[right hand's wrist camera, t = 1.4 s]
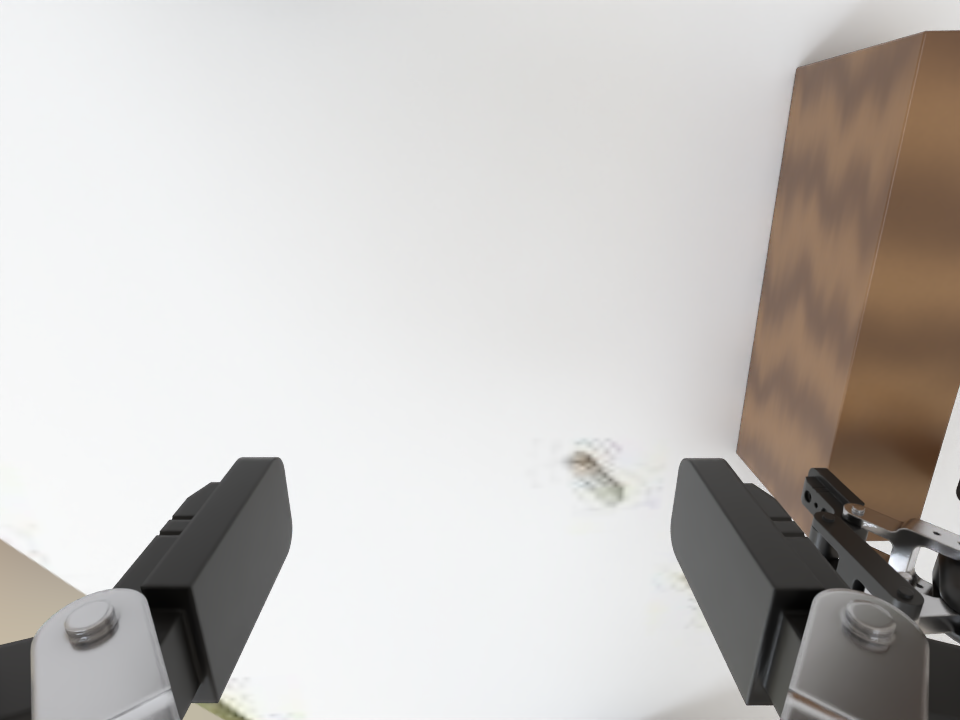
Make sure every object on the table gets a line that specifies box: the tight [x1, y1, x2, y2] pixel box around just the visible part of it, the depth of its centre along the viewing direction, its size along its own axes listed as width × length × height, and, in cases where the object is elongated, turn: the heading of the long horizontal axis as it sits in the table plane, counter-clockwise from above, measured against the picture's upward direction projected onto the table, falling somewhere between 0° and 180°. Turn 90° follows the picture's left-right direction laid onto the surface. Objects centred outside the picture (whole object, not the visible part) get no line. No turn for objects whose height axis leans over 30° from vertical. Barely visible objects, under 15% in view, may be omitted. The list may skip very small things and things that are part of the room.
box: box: [736, 30, 960, 541], centre depth 34 cm, size 27×6×11 cm, turn 1°
